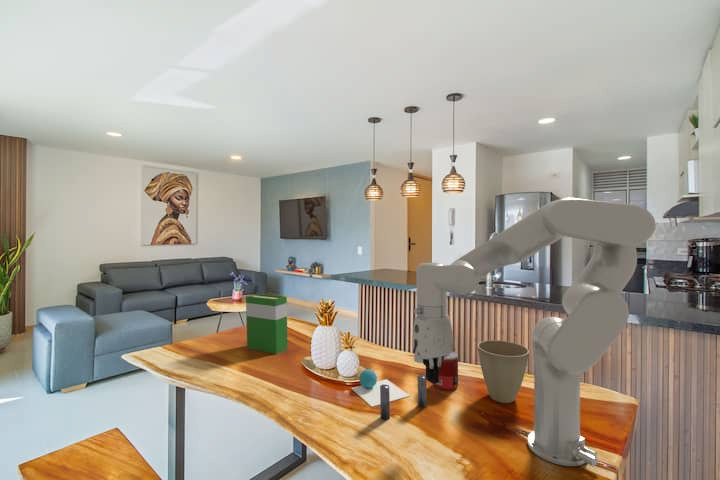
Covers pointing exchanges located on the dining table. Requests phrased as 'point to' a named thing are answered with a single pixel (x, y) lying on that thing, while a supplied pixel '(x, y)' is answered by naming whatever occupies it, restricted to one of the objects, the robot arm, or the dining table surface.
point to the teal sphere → (368, 378)
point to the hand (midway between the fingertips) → (432, 381)
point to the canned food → (448, 373)
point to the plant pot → (503, 368)
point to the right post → (422, 392)
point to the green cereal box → (267, 323)
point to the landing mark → (374, 393)
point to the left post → (384, 402)
